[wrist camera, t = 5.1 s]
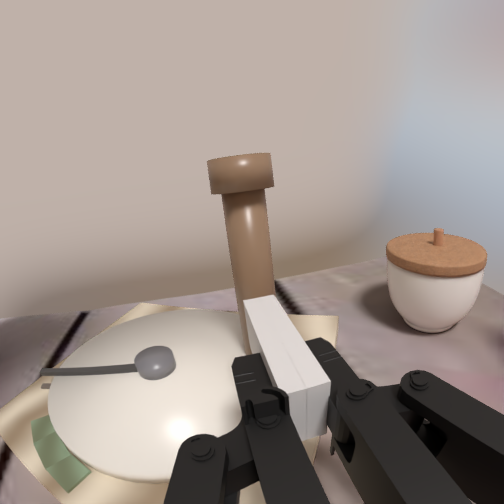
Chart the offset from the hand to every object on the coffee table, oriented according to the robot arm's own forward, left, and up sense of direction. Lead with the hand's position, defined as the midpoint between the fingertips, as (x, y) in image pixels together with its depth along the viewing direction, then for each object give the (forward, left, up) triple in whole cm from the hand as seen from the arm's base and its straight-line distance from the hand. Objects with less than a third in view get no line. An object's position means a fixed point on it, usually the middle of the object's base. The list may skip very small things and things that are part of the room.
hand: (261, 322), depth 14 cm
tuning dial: (-9, 0, -7) cm, 11 cm away
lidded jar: (+13, +15, -9) cm, 22 cm away
